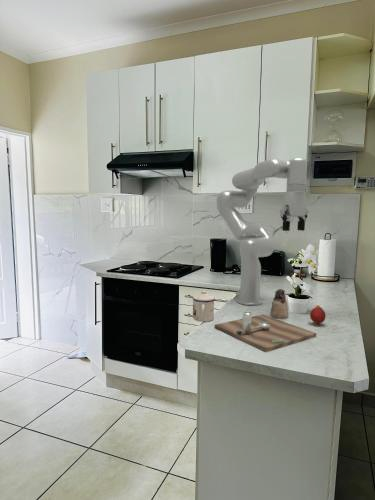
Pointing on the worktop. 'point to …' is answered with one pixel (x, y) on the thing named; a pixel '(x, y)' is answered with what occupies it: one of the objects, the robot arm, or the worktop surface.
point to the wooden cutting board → (267, 333)
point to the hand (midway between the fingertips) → (293, 230)
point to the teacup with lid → (203, 307)
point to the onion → (317, 315)
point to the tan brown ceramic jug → (279, 305)
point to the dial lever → (247, 324)
